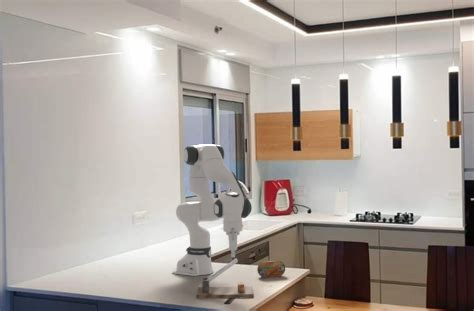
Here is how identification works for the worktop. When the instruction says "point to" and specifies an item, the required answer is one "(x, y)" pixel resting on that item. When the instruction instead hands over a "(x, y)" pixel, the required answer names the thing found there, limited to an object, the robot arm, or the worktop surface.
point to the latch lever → (222, 270)
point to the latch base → (223, 291)
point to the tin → (271, 269)
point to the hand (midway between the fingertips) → (233, 256)
